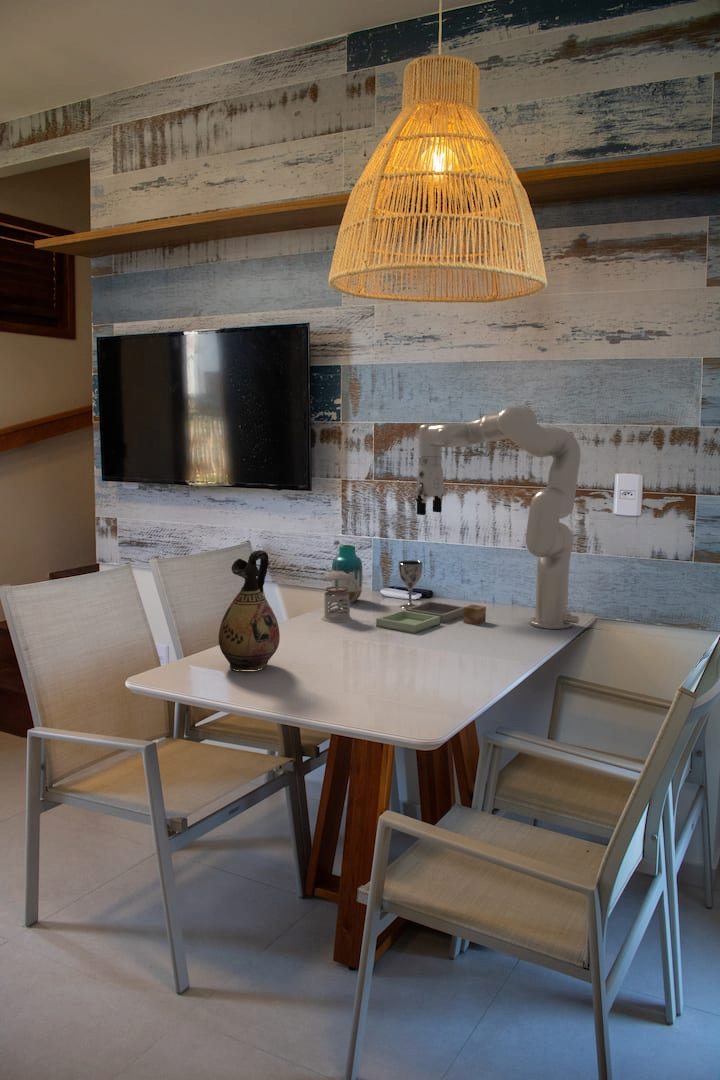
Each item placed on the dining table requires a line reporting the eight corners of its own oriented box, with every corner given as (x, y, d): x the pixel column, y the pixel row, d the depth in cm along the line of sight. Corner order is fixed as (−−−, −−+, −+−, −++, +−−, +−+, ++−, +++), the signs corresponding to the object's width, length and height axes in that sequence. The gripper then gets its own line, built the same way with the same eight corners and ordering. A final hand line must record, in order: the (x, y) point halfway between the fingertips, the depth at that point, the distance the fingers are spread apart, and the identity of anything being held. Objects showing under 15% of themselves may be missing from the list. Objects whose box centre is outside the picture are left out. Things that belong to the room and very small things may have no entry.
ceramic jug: (255, 679, 212) (253, 558, 207) (206, 669, 220) (204, 552, 215) (295, 662, 226) (294, 549, 222) (248, 654, 234) (247, 544, 230)
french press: (317, 616, 277) (317, 538, 273) (352, 614, 280) (352, 537, 277) (325, 623, 268) (325, 543, 264) (361, 621, 271) (362, 541, 267)
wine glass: (426, 605, 293) (426, 561, 290) (414, 610, 286) (415, 565, 284) (405, 602, 297) (405, 559, 295) (393, 607, 290) (394, 563, 288)
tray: (439, 624, 267) (440, 616, 267) (414, 633, 256) (414, 625, 256) (402, 617, 275) (402, 610, 275) (376, 626, 264) (376, 618, 264)
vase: (368, 602, 298) (368, 546, 295) (341, 605, 292) (341, 549, 290) (352, 596, 307) (353, 542, 304) (326, 599, 302) (326, 544, 299)
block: (485, 622, 270) (485, 606, 270) (477, 625, 266) (477, 609, 266) (471, 620, 273) (471, 604, 273) (463, 623, 269) (463, 607, 269)
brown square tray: (466, 614, 280) (466, 607, 279) (443, 623, 269) (443, 615, 268) (429, 608, 288) (429, 601, 288) (405, 616, 277) (405, 609, 276)
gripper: (425, 463, 278) (424, 516, 280) (453, 461, 291) (452, 511, 294) (405, 462, 282) (405, 515, 285) (434, 460, 296) (433, 510, 298)
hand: (429, 513), depth 289 cm, fingers open, 9 cm apart
